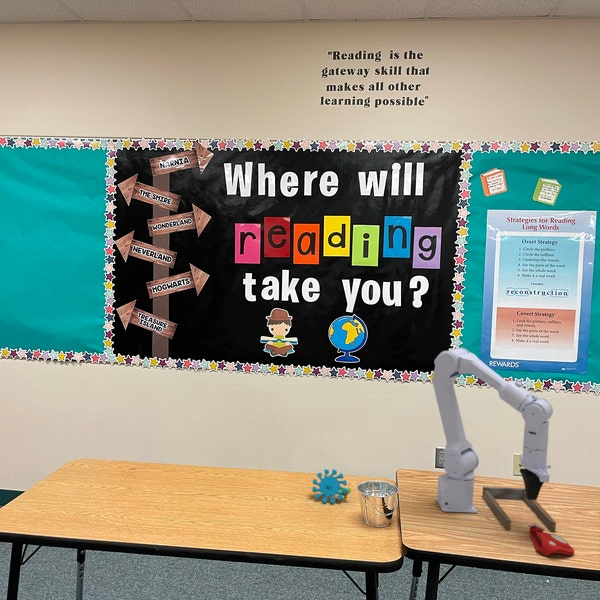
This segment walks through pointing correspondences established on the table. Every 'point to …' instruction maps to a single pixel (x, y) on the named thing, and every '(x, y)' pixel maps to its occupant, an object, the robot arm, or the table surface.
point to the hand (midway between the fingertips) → (531, 498)
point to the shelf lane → (514, 493)
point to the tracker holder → (548, 542)
